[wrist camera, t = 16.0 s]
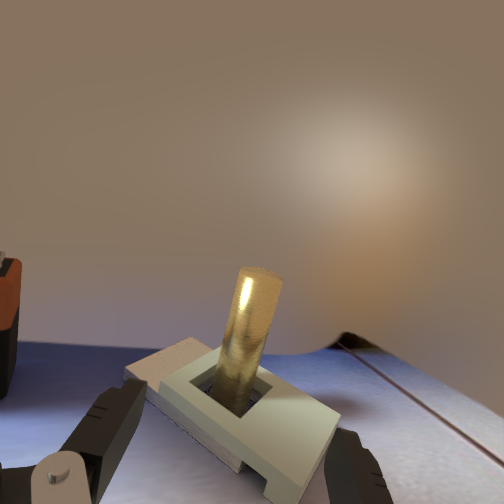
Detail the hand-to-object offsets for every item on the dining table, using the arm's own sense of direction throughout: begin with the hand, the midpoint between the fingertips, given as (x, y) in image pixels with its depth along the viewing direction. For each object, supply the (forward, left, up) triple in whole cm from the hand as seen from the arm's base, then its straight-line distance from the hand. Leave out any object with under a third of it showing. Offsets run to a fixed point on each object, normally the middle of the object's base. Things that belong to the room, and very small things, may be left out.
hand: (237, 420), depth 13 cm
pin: (-5, +10, -9) cm, 14 cm away
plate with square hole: (-3, +10, -9) cm, 14 cm away
